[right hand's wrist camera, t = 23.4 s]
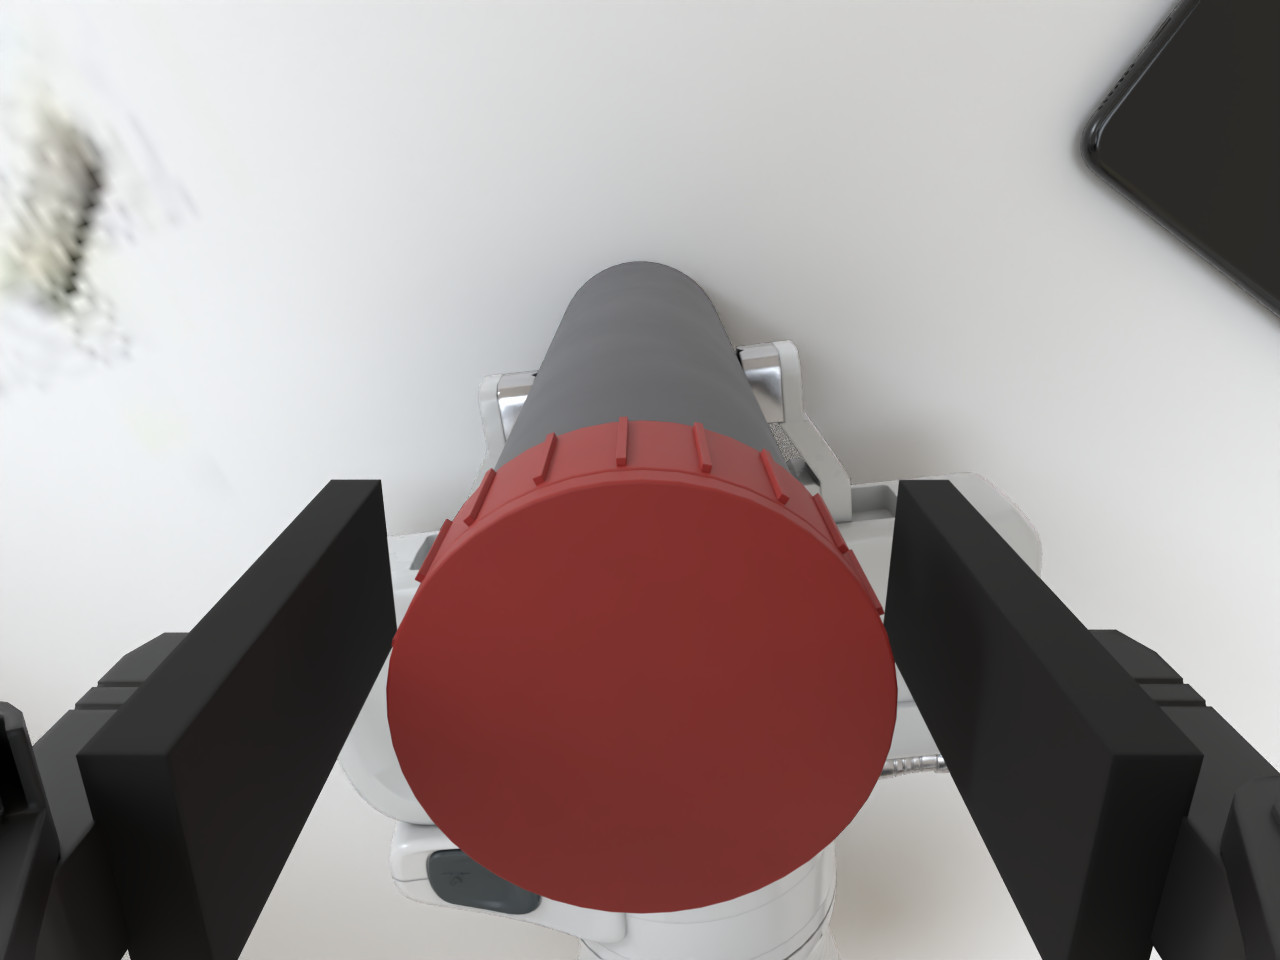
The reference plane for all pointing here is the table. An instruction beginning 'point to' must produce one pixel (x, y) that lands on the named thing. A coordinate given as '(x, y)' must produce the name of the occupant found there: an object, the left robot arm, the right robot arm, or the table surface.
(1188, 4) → the smartphone
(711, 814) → the lid
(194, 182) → the table surface
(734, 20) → the table surface
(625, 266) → the jar
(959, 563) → the right robot arm
